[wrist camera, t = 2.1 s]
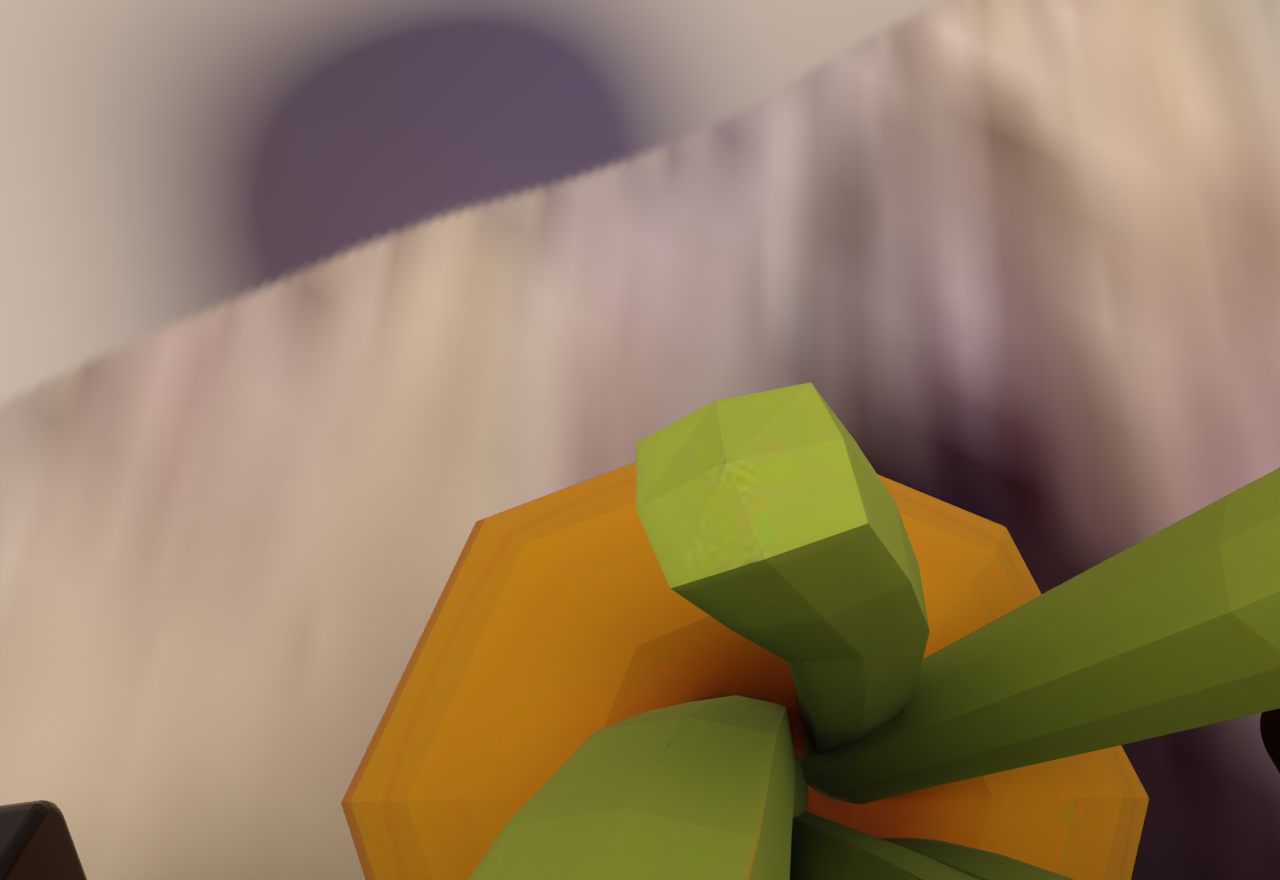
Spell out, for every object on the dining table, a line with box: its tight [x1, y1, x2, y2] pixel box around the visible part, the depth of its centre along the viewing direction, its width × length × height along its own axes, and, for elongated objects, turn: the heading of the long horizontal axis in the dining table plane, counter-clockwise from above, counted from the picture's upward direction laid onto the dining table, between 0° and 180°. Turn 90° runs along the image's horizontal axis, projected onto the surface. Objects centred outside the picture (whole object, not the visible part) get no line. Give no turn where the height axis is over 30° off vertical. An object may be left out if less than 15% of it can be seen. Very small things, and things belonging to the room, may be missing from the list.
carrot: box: [341, 383, 1280, 880], centre depth 9 cm, size 5×5×15 cm
